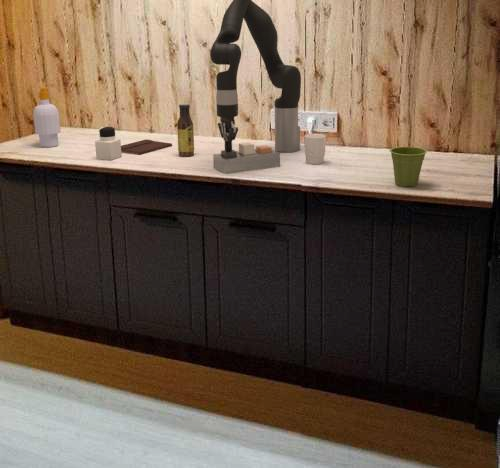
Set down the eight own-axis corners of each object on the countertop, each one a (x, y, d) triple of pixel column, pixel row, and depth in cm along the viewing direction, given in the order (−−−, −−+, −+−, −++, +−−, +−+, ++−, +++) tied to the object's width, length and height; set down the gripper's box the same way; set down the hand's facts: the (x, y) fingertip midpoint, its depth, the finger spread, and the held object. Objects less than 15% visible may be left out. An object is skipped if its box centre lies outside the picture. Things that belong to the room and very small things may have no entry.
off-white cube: (249, 151, 267) (249, 142, 266) (254, 154, 263) (254, 144, 262) (238, 153, 265) (238, 143, 264) (243, 155, 262) (243, 145, 261)
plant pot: (384, 187, 236) (386, 153, 232) (391, 178, 246) (393, 145, 243) (422, 190, 232) (424, 155, 228) (427, 181, 242) (429, 147, 238)
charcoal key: (232, 158, 265) (231, 149, 264) (236, 161, 261) (236, 151, 260) (221, 160, 263) (221, 150, 262) (226, 162, 259) (225, 152, 258)
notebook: (172, 147, 304) (172, 142, 303) (139, 156, 289) (139, 151, 288) (145, 143, 312) (145, 138, 312) (112, 152, 297) (112, 147, 297)
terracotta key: (266, 154, 270) (266, 145, 269) (271, 156, 267) (271, 147, 266) (256, 155, 269) (256, 146, 268) (261, 158, 265) (261, 148, 264)
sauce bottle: (191, 157, 283) (189, 105, 277) (176, 156, 284) (173, 105, 278) (196, 153, 289) (194, 103, 283) (181, 153, 290) (178, 103, 284)
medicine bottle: (122, 156, 287) (119, 126, 283) (111, 160, 280) (108, 129, 277) (107, 155, 289) (104, 125, 286) (96, 159, 283) (93, 128, 279)
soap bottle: (67, 144, 311) (61, 87, 303) (48, 149, 303) (42, 90, 295) (50, 142, 316) (44, 86, 308) (31, 146, 308) (24, 89, 300)
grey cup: (327, 160, 273) (328, 134, 270) (322, 165, 266) (323, 138, 263) (307, 159, 276) (307, 133, 272) (301, 164, 269) (301, 137, 265)
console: (267, 160, 275) (267, 147, 273) (280, 166, 266) (280, 152, 264) (213, 167, 266) (213, 154, 264) (224, 173, 257) (224, 159, 256)
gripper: (244, 104, 251) (245, 153, 257) (229, 99, 263) (230, 146, 268) (224, 105, 248) (226, 155, 254) (209, 100, 260) (211, 148, 265)
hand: (228, 151), depth 261 cm, fingers closed
